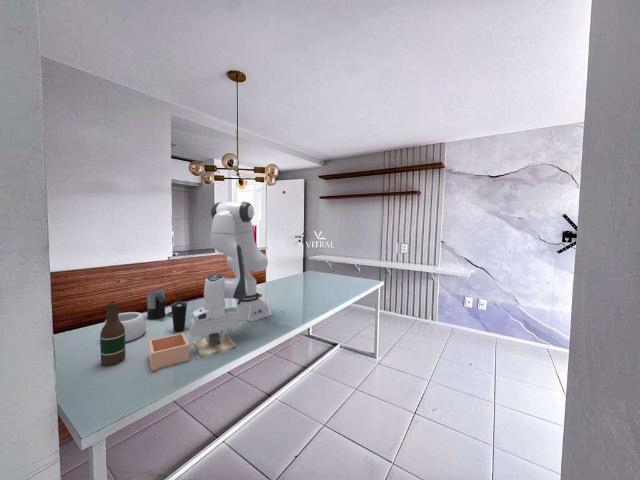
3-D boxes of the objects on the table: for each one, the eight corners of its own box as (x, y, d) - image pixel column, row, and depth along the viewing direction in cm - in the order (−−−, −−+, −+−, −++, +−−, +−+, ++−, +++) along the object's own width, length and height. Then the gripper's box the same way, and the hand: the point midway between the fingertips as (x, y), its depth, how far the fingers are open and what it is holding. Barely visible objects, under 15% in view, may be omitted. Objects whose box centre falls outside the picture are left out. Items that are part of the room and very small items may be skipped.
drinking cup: (180, 334, 128) (180, 294, 126) (167, 332, 129) (166, 293, 128) (190, 328, 135) (190, 290, 134) (178, 326, 137) (178, 289, 135)
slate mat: (227, 335, 128) (227, 334, 128) (239, 349, 114) (239, 348, 114) (190, 344, 118) (190, 343, 118) (198, 361, 104) (198, 360, 104)
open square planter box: (183, 348, 114) (183, 332, 114) (189, 361, 104) (189, 344, 103) (148, 356, 106) (148, 340, 106) (151, 371, 96) (151, 353, 95)
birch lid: (226, 335, 126) (226, 325, 126) (236, 348, 115) (236, 337, 114) (192, 343, 117) (192, 332, 117) (200, 358, 105) (200, 346, 105)
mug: (110, 331, 127) (110, 312, 127) (149, 328, 133) (149, 309, 133) (90, 353, 107) (89, 330, 107) (137, 347, 113) (136, 325, 113)
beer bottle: (127, 361, 102) (126, 302, 101) (102, 369, 97) (101, 307, 95) (123, 354, 107) (122, 298, 106) (99, 361, 102) (97, 302, 100)
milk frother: (142, 318, 145) (142, 292, 144) (167, 309, 160) (167, 286, 159) (160, 322, 141) (160, 296, 140) (184, 313, 155) (184, 289, 154)
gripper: (235, 304, 124) (234, 332, 125) (188, 312, 111) (188, 343, 112) (239, 308, 119) (239, 337, 120) (191, 317, 106) (191, 349, 107)
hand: (214, 340), depth 116 cm, fingers closed on birch lid, 4 cm apart
